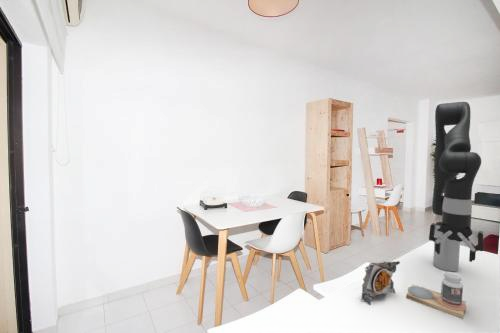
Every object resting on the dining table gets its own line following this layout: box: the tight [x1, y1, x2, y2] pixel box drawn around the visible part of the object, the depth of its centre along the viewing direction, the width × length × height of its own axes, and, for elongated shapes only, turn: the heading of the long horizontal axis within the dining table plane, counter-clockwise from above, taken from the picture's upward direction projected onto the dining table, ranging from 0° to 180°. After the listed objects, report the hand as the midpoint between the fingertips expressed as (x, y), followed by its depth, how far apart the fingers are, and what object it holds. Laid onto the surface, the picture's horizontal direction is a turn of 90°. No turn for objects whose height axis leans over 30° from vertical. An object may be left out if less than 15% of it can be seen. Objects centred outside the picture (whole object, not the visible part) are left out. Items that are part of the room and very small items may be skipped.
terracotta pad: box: [437, 296, 467, 312], centre depth 86 cm, size 8×8×1 cm
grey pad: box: [407, 285, 434, 299], centre depth 93 cm, size 8×8×1 cm
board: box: [405, 283, 467, 319], centre depth 89 cm, size 10×16×1 cm, turn 45°
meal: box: [361, 260, 401, 306], centre depth 92 cm, size 15×4×13 cm, turn 115°
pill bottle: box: [440, 271, 464, 307], centre depth 86 cm, size 6×6×10 cm
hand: (454, 257), depth 85 cm, fingers open, 8 cm apart
